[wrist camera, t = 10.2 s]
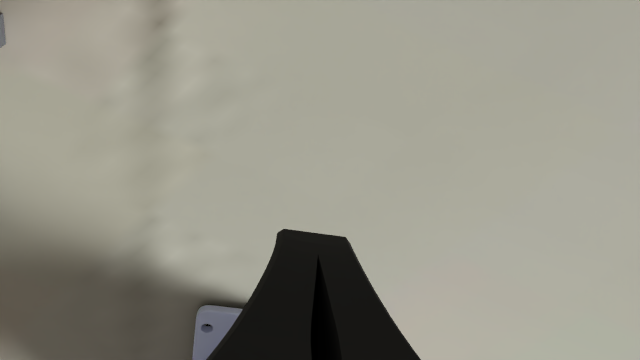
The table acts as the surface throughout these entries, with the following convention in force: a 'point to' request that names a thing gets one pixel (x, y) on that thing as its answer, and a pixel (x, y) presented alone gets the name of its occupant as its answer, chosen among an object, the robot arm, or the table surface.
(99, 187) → the table surface
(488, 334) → the table surface
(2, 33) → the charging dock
